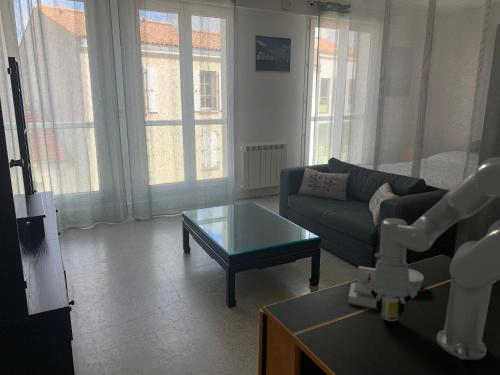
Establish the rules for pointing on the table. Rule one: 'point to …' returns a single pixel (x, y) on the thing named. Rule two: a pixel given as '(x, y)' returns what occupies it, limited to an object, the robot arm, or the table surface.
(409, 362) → the table surface
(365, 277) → the scale housing
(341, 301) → the table surface
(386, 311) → the supplement bottle
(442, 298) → the table surface
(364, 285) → the pan
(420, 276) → the ramekin
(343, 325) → the table surface
